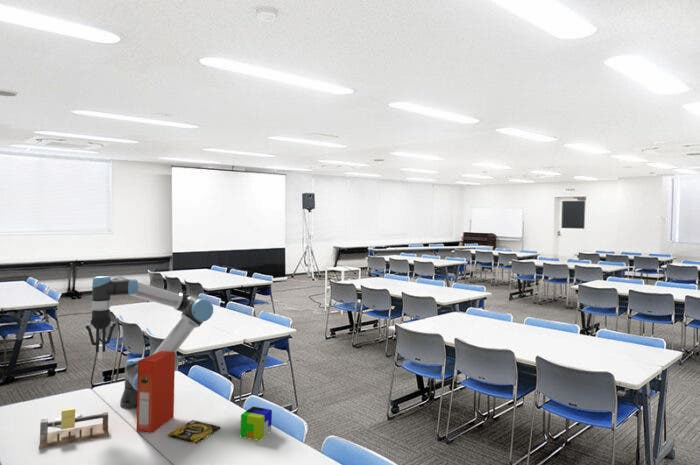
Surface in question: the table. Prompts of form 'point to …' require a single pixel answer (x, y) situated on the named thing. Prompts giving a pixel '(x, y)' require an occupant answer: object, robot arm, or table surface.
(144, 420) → the file binder
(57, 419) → the external hard drive
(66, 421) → the sleeve
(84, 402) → the table surface
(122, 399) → the robot arm
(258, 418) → the puzzle toy
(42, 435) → the comb stand
